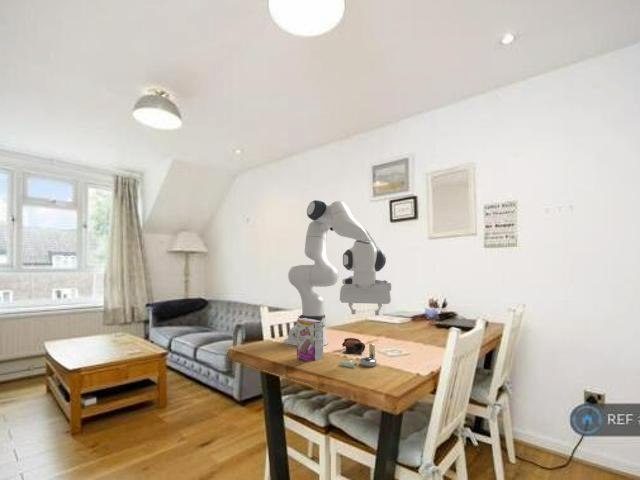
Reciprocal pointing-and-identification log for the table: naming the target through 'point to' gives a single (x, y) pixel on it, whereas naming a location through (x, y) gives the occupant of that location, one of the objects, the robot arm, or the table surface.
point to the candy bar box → (309, 339)
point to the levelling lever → (369, 358)
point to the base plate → (348, 364)
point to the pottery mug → (353, 346)
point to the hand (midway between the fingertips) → (365, 314)
